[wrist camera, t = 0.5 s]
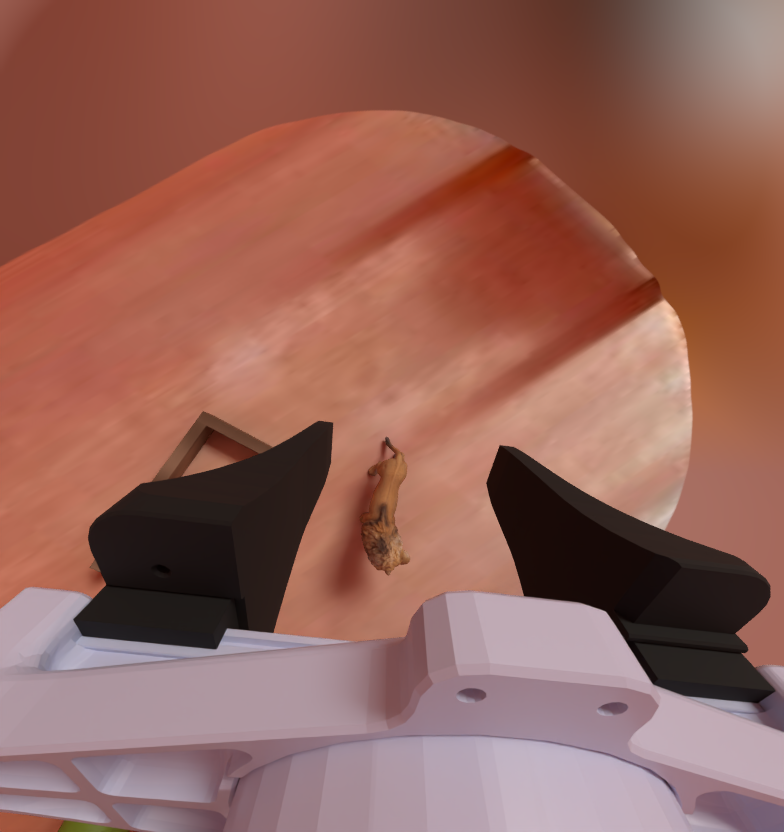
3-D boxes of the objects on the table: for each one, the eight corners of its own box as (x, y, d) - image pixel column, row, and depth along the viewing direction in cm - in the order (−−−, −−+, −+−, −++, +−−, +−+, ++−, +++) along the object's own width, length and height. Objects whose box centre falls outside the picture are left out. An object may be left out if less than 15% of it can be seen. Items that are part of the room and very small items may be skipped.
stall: (207, 604, 32) (196, 616, 29) (108, 559, 30) (89, 567, 28) (295, 459, 36) (292, 459, 33) (212, 414, 35) (203, 411, 32)
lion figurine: (396, 552, 37) (415, 580, 28) (354, 551, 36) (361, 580, 27) (403, 439, 39) (423, 432, 30) (365, 435, 38) (374, 427, 30)
